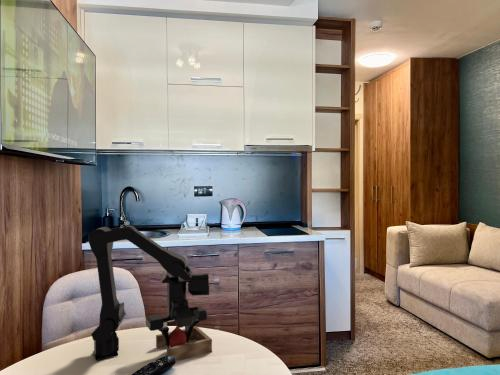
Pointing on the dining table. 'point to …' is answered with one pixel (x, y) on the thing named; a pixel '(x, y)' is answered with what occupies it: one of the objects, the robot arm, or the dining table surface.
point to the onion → (177, 337)
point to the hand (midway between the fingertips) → (177, 344)
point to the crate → (188, 345)
